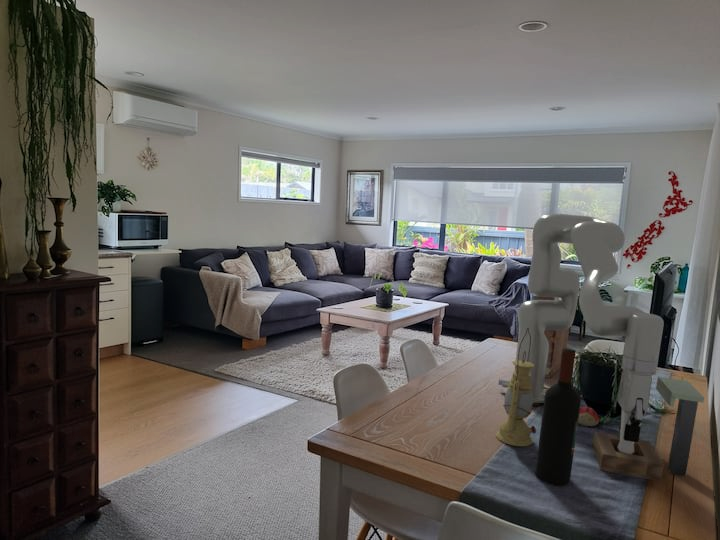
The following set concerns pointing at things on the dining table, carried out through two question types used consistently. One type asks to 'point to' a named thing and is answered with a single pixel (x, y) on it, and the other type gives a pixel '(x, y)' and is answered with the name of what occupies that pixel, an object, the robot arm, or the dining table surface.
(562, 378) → the wine bottle
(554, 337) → the book
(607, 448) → the socket block
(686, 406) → the capped grey post
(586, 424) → the red and yellow dome
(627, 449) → the perfume bottle
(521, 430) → the lantern
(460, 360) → the dining table surface
